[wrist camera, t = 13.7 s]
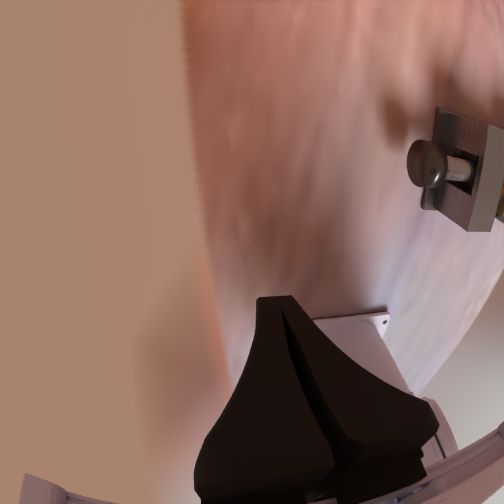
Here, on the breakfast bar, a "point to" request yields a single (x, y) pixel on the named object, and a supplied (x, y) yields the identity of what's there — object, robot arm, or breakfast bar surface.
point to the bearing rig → (487, 175)
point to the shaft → (437, 165)
